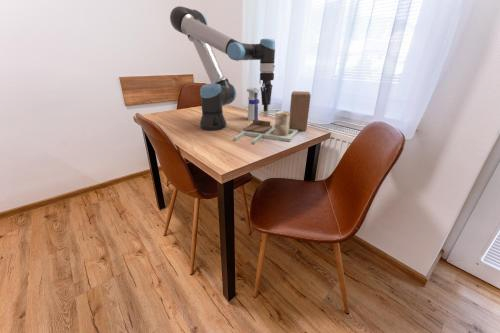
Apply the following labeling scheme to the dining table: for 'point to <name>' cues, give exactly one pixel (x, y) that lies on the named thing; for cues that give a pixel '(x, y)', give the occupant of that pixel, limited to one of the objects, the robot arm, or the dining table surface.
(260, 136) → the puzzle board
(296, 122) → the wooden block
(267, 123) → the walnut lid
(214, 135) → the dining table surface
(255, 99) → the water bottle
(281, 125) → the beech block
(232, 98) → the robot arm
